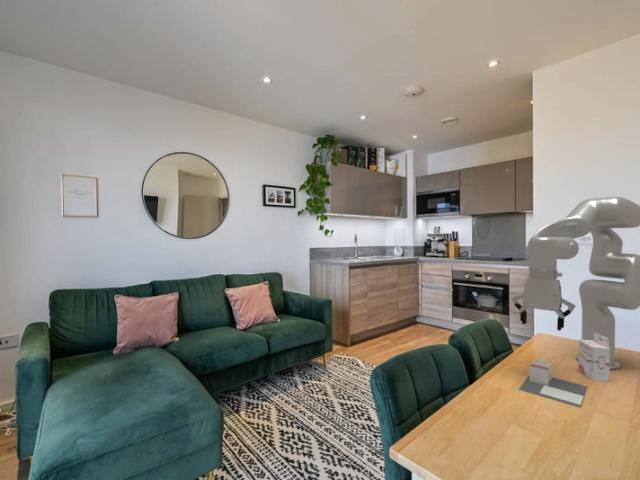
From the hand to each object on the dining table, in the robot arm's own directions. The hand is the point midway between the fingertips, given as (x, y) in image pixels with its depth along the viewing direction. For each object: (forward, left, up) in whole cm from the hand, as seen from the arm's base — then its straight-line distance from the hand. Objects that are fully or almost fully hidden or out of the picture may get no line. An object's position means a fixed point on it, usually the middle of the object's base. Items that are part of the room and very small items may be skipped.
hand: (541, 326), depth 105 cm
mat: (+4, +4, -18) cm, 19 cm away
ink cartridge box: (-17, +12, -19) cm, 28 cm away
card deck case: (0, 0, -18) cm, 18 cm away
